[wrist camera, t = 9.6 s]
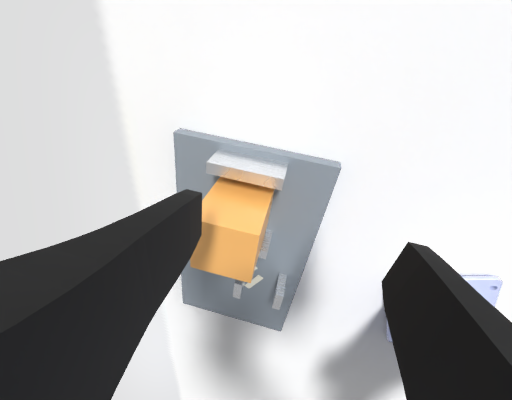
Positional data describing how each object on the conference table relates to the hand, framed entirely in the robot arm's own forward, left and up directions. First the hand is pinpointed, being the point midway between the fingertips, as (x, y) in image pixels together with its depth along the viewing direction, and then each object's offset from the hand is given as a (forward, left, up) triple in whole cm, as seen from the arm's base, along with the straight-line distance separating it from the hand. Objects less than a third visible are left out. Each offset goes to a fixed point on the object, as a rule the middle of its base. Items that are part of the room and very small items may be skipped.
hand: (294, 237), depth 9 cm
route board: (-9, +8, -10) cm, 15 cm away
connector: (-3, +5, -9) cm, 11 cm away
